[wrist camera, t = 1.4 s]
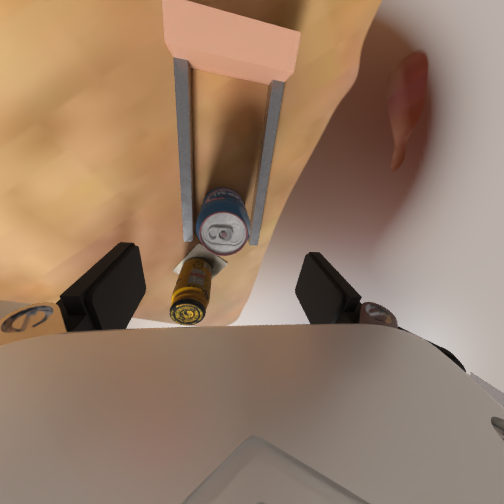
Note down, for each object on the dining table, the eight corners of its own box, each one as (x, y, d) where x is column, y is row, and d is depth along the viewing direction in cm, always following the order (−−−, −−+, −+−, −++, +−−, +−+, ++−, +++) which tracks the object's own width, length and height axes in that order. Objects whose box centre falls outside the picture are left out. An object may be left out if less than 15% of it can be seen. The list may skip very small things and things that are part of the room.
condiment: (172, 270, 37) (153, 318, 27) (198, 242, 35) (188, 283, 25) (202, 287, 41) (194, 336, 30) (227, 263, 38) (229, 306, 28)
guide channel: (176, 29, 21) (171, 16, 19) (284, 56, 23) (290, 48, 21) (186, 235, 34) (183, 241, 32) (255, 239, 36) (257, 245, 34)
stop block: (176, 29, 21) (161, -7, 16) (284, 56, 23) (301, 32, 18) (178, 65, 23) (164, 42, 17) (279, 87, 25) (293, 72, 20)
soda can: (244, 186, 31) (255, 208, 21) (242, 225, 34) (250, 260, 24) (202, 184, 30) (191, 205, 20) (204, 224, 33) (195, 260, 23)
